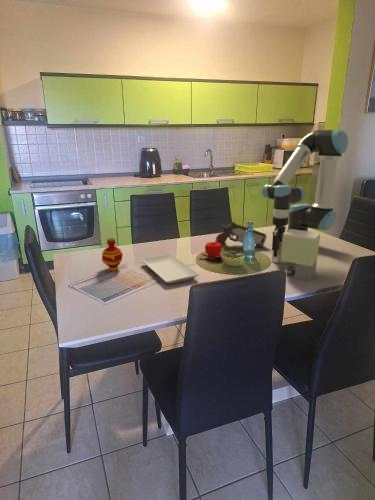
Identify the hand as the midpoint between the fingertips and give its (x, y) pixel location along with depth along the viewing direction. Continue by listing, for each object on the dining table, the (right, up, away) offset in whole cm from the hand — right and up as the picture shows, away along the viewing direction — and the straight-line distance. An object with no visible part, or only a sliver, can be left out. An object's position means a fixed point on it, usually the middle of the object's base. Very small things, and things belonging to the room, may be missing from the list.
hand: (276, 260), depth 178 cm
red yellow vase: (-83, -4, -9) cm, 84 cm away
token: (+2, -6, -15) cm, 16 cm away
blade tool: (+5, -1, -3) cm, 6 cm away
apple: (-33, +1, +6) cm, 33 cm away
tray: (-56, -6, -13) cm, 57 cm away
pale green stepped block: (+5, -6, -17) cm, 18 cm away
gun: (-15, +8, +25) cm, 30 cm away
